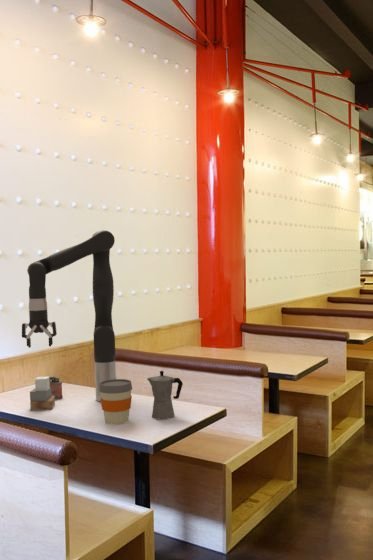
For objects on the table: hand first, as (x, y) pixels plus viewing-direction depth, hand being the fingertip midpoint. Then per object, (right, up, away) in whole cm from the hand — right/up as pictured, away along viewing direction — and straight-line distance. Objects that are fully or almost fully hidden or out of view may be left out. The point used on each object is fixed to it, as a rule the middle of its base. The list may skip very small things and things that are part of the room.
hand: (39, 346), depth 239 cm
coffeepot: (+54, -25, -19) cm, 63 cm away
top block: (+1, -18, +1) cm, 19 cm away
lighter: (+2, -26, +16) cm, 30 cm away
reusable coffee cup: (+36, -26, -23) cm, 50 cm away
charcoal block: (0, -23, +1) cm, 23 cm away
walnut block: (+1, -26, +1) cm, 27 cm away
